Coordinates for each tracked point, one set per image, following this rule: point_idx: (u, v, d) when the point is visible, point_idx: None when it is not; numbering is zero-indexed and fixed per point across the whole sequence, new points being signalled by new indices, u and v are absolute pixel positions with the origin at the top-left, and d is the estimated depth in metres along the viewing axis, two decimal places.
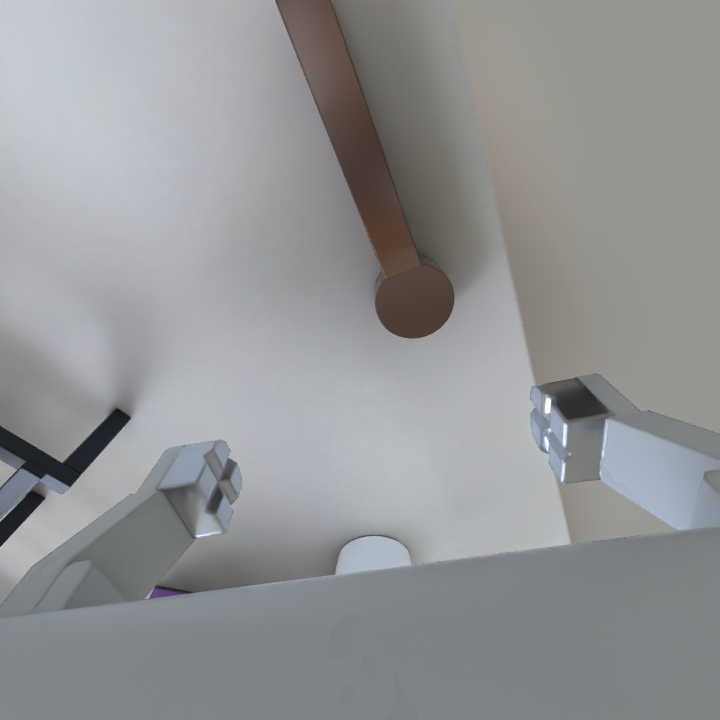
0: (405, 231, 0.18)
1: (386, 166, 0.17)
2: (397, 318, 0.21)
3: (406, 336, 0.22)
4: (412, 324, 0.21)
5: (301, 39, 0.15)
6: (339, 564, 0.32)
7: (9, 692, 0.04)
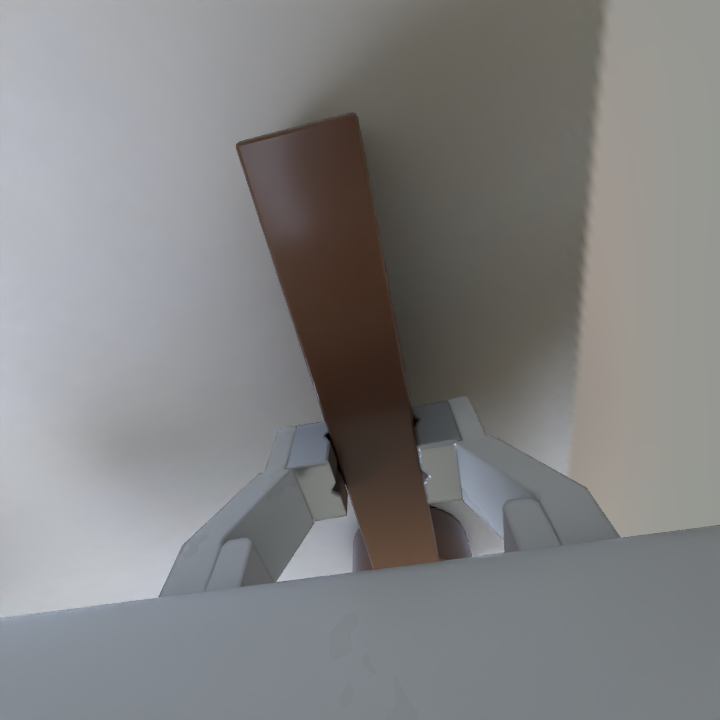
0: (426, 535, 0.10)
1: (417, 454, 0.09)
2: None
3: None
4: None
5: (288, 232, 0.07)
6: None
7: (9, 692, 0.04)
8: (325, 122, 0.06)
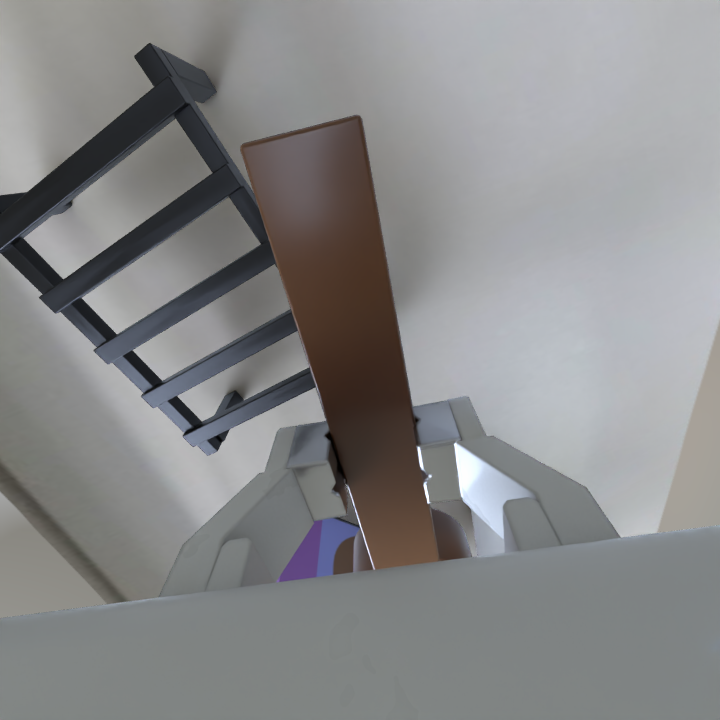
0: (427, 537, 0.10)
1: None
2: None
3: None
4: None
5: (291, 233, 0.07)
6: None
7: (10, 692, 0.04)
8: (329, 124, 0.06)
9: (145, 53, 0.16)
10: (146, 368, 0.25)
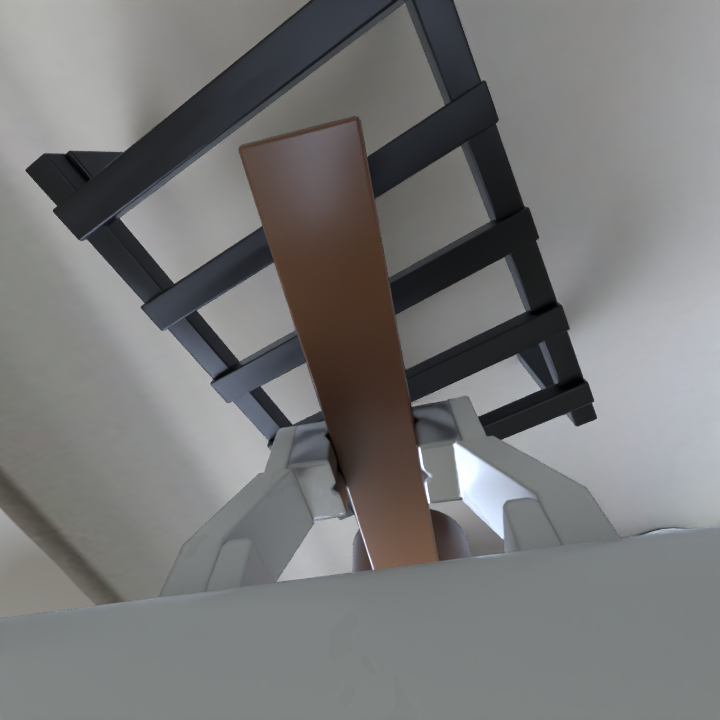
0: (426, 537, 0.10)
1: (417, 456, 0.09)
2: None
3: None
4: None
5: (289, 235, 0.07)
6: None
7: (9, 692, 0.04)
8: (328, 126, 0.06)
9: None
10: (273, 405, 0.18)
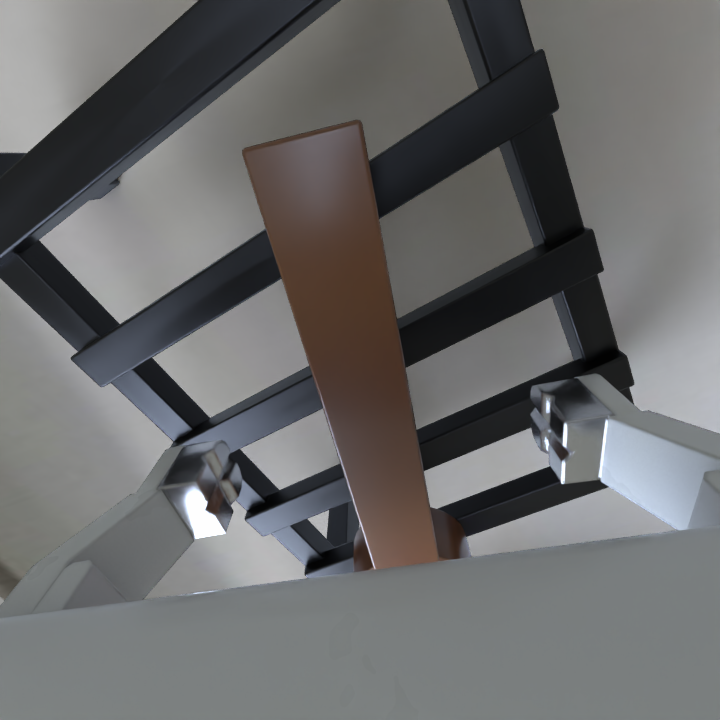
0: (427, 535, 0.10)
1: (418, 455, 0.09)
2: None
3: None
4: None
5: (291, 236, 0.07)
6: None
7: (10, 692, 0.04)
8: (330, 129, 0.06)
9: None
10: (252, 468, 0.14)
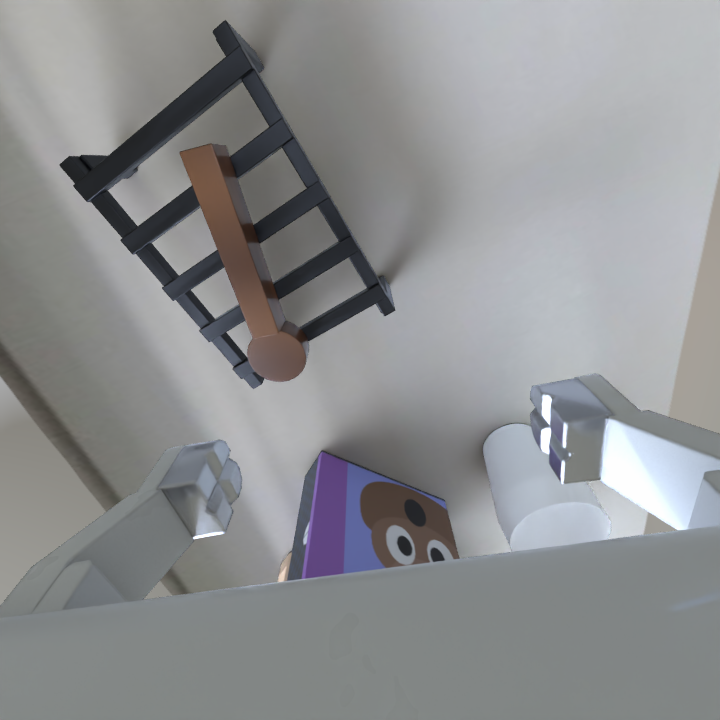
0: (267, 309, 0.25)
1: (254, 265, 0.24)
2: (263, 366, 0.28)
3: (270, 379, 0.29)
4: (274, 371, 0.28)
5: (196, 178, 0.22)
6: (495, 440, 0.41)
7: (9, 692, 0.04)
8: (203, 146, 0.21)
9: (221, 28, 0.21)
10: (203, 307, 0.29)
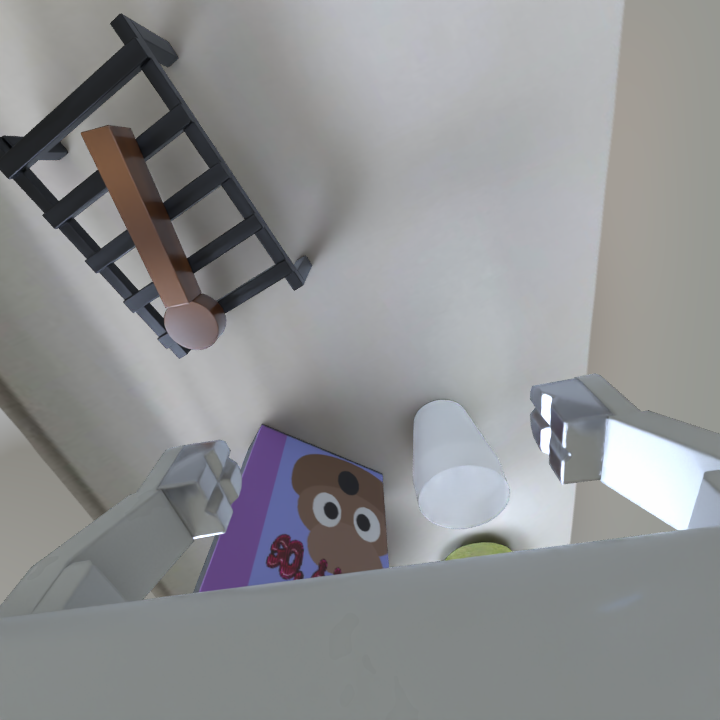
0: (175, 280, 0.28)
1: (159, 238, 0.26)
2: (180, 334, 0.31)
3: (187, 347, 0.31)
4: (191, 340, 0.31)
5: (98, 157, 0.24)
6: (421, 415, 0.43)
7: (9, 692, 0.04)
8: (101, 127, 0.23)
9: (118, 20, 0.23)
10: (127, 280, 0.32)
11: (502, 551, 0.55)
